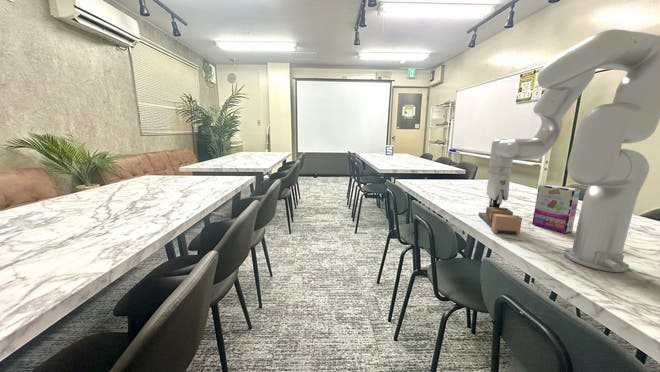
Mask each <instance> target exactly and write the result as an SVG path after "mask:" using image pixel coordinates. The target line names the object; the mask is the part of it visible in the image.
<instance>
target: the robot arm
mask: <svg viewBox="0 0 660 372" xmlns="http://www.w3.org/2000/svg"><path fill="white" fill-rule="evenodd" d="M598 69H600V70H601V69H602V70H609V71H610V70H613V71H622V72H627V73H626V74H625V76H624V77H623V78H622V80H621V81H620V82H619V84H618V86H617V88H616V90H615V95H614V98H613V100H612V103H606V104H605V103H604V104H601V105H599V106H596V107H594V108H592V109H590V110H589V111H588V112H587V113H586V114H585V115H584V116H583V117H582V118H581V120H580V121H579V123H578V125H577V129H576V131H575V136H574V139H573V142H572V146H571V150H570V154H569V157H568V160H567V173H568V174H567V175H568V176H569V178H570V179H571V180H572V181H573V182H575V183H576V184H579V185H581V186H588V187H587V188H586V190H585V193H584V195H583V199H582V203H581V207H580V211H579V216H578V221H577V226H576V231H575V233H574V234H575V235H574V240H573V244H572V247H569V248H566V249H564V251H563V255H564V256H565V257H566V258H567V259H568V260H570V261H572V262H574V263H576V264H579V265H581V266H584V267H588V268H590V269H595V270H598V271H604V272H610V273H624V272H627V271H628V270H629V268H630V265H629V264H628V263H627V262H625V261H624V259H625V255H624V254H623V251H624V248H625V245H626V240H627V237H628V233H629V229H630V226H631V221H632V218H633V214H634V211H635V206H636V203H637V200H638V197H639V195H640V191H641V190H642V188H643V186H644V184H645V182H646V180H647V178H648V176H649V175H648V174H649V171H650V164H649V161H648V159H647V158H646V156H644V155H643V154H642V153H640V152H638V151H635V150H633V149H628V148H622V146H623V144H635V143H639V142H643V141H645V140H647V139H648V138H650V137H651V136H652V135H653V134H654V133H655V131H656V129H657V127H658V124H659V121H660V35H658V34H653V33H647V32H642V31H641V32H640V31H631V30H626V29H614V28H612V29H607V30H603V31H600V32H598V33H595V34H593V35H591V36H590V37H587V38H585V40H582V41H580V42H579V43H577V44H575V45H573V46H572V47H570V48H568V49H567V50H565V51H563V52H561V53H560V54H558V55H556V56H554V57H552V59H550V60H549V61H548V62H546V64H544V65H543V67H542V68H541V69H540V71H539V72H538V75H537V83H538V86H539V87H540V88H542V89H545V90H544V92H543V93H542V95H541V96H540V98H539V99H538V100H537V102H536V104H535V105H534V106H533V112H534V114H536V116H538V117H539V118H540V121H541V124H540V127H539V129H538V131H537V132H536V134H535V135H534V136H533V138H512V139H511V138H510V139H508V138H507V139H506V138H505V139H504V138H496V139H494V140H493V141H492V142H491V149H490V157H489V163H488V170H487V174H488V175H489V176H488V180H487V187H486V195H487V196H488V198H489V201H488V204H489V205H488V207H499V208H501V207H500V206H501V205H502V204H503V201H504V202H505V201H508V199H509V192H510V176H511V172H512V167H513V161H523V160H526V161H527V160H528V161H529V160H530V161H531V160H532V161H534V160H539V159H540V158H543V157H544V156H545V155H546V154H547V153H548V152H549V151H550V150H551V149H552V147H554V145H555V144H556V143H557V141H558V139H559V137H561V136H560V135H561V131H562V128H563V127H562V126H563V119H564V117H565V115H566V114H567V113H568V111H569V110H570V108H572V106H573V105H574V103H575V102H576V101H577V100H578V99H579V97H580V96H581V95H582V94H583V92H584V91H585V89H586V88H587V86H589V84H590V83H591V82H592V80H593V79H594V77H595V75H596V71H597V70H598Z"/></svg>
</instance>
